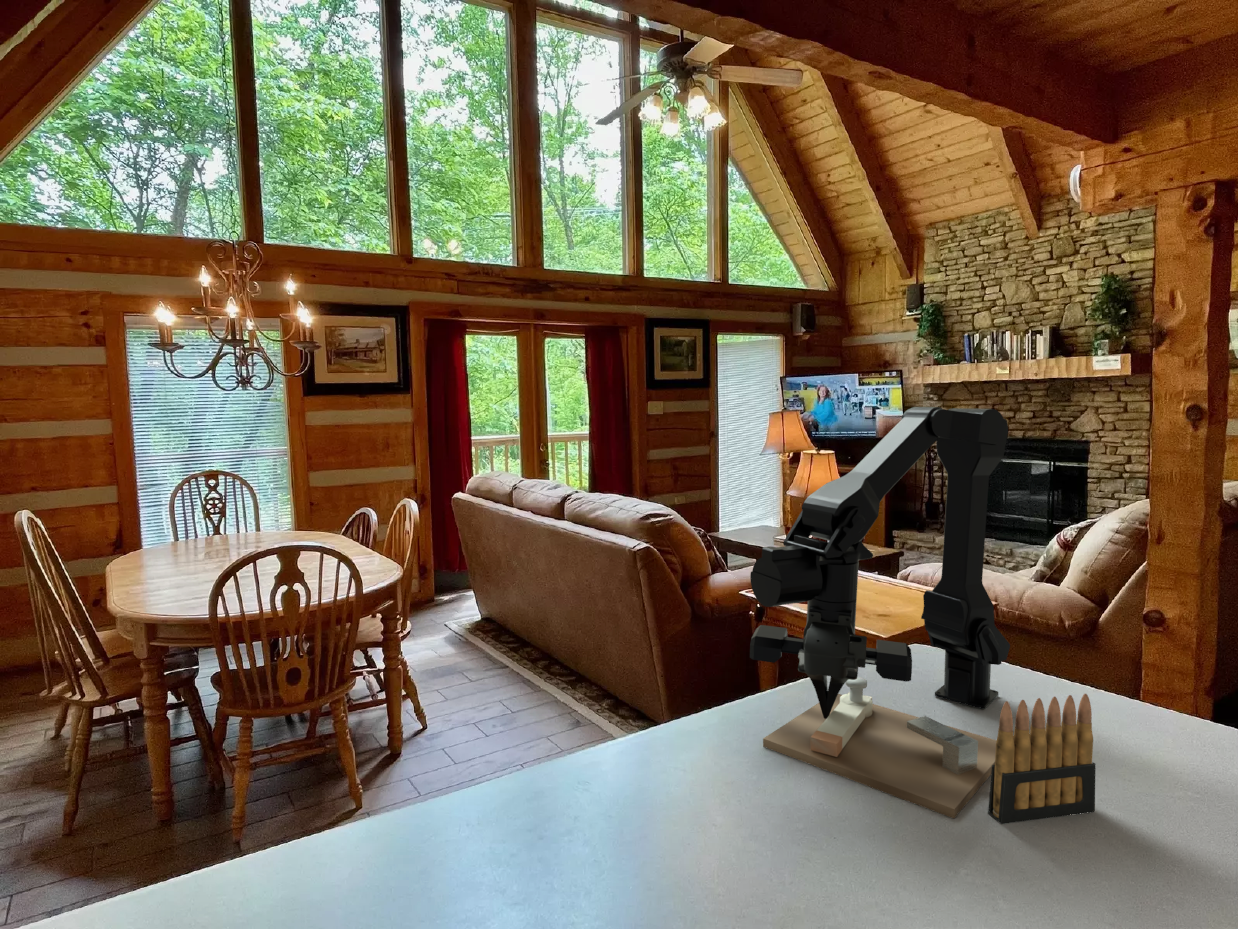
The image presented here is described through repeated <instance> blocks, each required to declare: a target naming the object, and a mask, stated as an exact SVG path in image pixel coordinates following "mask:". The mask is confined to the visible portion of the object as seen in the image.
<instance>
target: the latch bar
mask: <svg viewBox="0 0 1238 929" xmlns="http://www.w3.org/2000/svg"><path fill="white" fill-rule="evenodd" d="M845 686H847V687H848V688H849V691H848V693H844V694H841V695H842V696H841V697H840V703H839V704H838V706H837V707H836V708H835V709H834V710H833V712H832V713H831V714H830V715H829V716H828V718H827V719H826V720H825V721H824V722H823V723H822V725H821V726H820V727H819V728H818V729H817V730H816V731H815V733H814V734H813V735H812V736H811V750H812V751H816V752H820V753H824V754H827V755H831V756H835V757H837V756H838V755H839V753H840V752H841V751H842V749H843V747H844V746H845V745H846V743H847V742H848V740H849V739H850V738H851V736H852V735H853V734H854V732H855V731H856V729H857V728H858V727H859V725H860V724H861V723H862V721H863V720H864V718H866V717H869V716H871V715H872V705H873V704H874V703H873V696H870V695H864V693H863V692H864V689H866V688H868V680H867V679H866V678H864V677H860V676H858V677H857V679H855V680H850V679H849V680H847V681H846V682H845Z"/></svg>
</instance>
